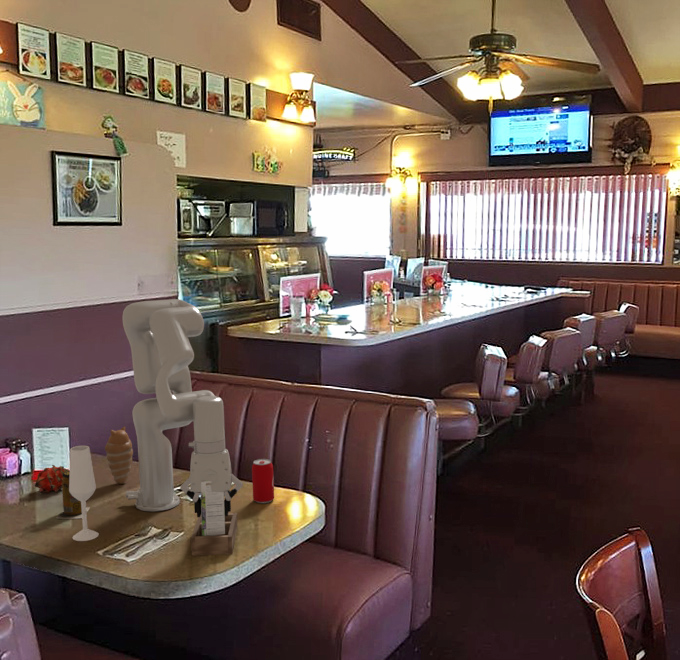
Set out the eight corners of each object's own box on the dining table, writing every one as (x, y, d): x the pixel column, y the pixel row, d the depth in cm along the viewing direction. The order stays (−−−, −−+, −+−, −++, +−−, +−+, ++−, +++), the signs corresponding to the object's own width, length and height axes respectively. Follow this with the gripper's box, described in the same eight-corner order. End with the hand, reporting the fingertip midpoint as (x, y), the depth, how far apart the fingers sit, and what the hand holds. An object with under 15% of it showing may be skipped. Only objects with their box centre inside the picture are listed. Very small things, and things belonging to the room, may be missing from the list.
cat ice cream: (125, 477, 257) (122, 423, 254) (140, 482, 252) (137, 427, 249) (102, 484, 250) (98, 429, 247) (117, 489, 245) (113, 433, 242)
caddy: (191, 555, 196) (190, 528, 195) (200, 530, 212) (198, 505, 211) (232, 553, 196) (231, 527, 195) (237, 529, 212) (236, 504, 211)
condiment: (90, 507, 230) (87, 468, 228) (82, 518, 222) (79, 477, 220) (65, 508, 230) (62, 468, 228) (55, 519, 221) (52, 478, 220)
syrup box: (201, 528, 202) (199, 474, 200) (224, 526, 204) (222, 472, 202) (202, 537, 197) (199, 481, 195) (226, 534, 198) (223, 479, 196)
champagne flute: (66, 539, 207) (60, 450, 204) (83, 529, 213) (77, 443, 210) (87, 542, 205) (81, 452, 202) (104, 532, 211) (98, 445, 208)
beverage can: (276, 497, 236) (274, 458, 234) (272, 504, 230) (270, 464, 228) (255, 496, 236) (254, 458, 235) (251, 504, 230) (249, 464, 229)
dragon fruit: (73, 490, 250) (40, 506, 241) (57, 471, 253) (24, 487, 244) (78, 472, 245) (45, 489, 236) (62, 454, 248) (28, 469, 239)
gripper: (172, 451, 193) (176, 521, 196) (243, 449, 194) (246, 519, 196) (177, 442, 201) (180, 510, 203) (245, 440, 201) (248, 508, 204)
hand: (213, 514), depth 200 cm, fingers closed on syrup box, 6 cm apart
